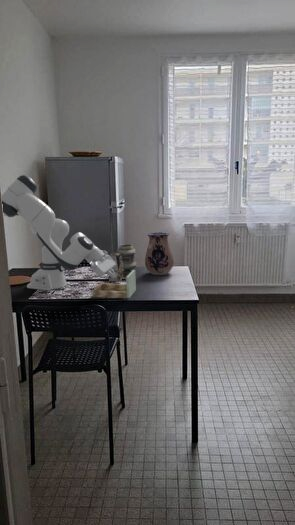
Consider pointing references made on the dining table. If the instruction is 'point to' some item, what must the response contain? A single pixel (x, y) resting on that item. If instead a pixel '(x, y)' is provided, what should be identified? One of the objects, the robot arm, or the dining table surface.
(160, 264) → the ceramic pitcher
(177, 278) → the dining table surface
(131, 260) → the apothecary jar
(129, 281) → the pale green flat slab
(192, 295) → the dining table surface
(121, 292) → the truck bed crate
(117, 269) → the coffee box
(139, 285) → the dining table surface
